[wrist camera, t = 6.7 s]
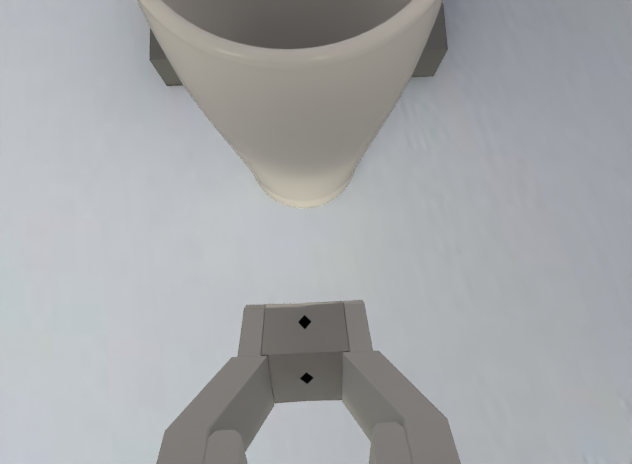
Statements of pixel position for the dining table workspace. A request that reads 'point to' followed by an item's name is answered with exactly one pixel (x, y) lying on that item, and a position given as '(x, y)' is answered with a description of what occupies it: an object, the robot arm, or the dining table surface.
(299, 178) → the drinking glass
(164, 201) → the dining table surface
